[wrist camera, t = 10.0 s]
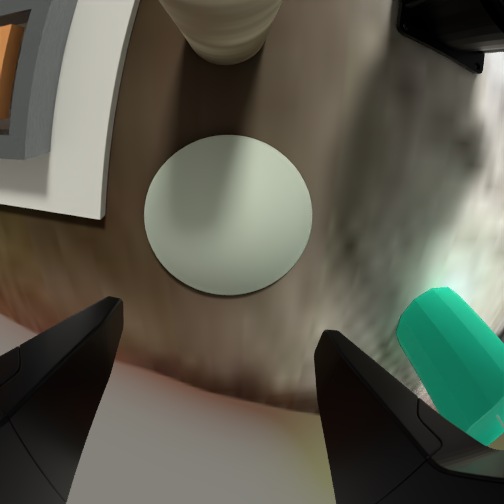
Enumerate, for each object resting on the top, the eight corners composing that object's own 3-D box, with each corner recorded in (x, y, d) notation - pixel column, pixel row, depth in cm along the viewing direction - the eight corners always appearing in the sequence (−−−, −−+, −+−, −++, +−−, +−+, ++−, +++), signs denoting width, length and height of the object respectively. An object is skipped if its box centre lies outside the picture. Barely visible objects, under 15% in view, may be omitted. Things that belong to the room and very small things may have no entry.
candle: (456, 335, 23) (528, 438, 12) (395, 359, 23) (456, 482, 12) (463, 276, 20) (564, 382, 9) (395, 301, 20) (484, 437, 10)
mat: (327, 154, 16) (330, 156, 16) (287, 299, 20) (288, 304, 19) (158, 122, 15) (155, 123, 15) (142, 276, 19) (139, 281, 18)
